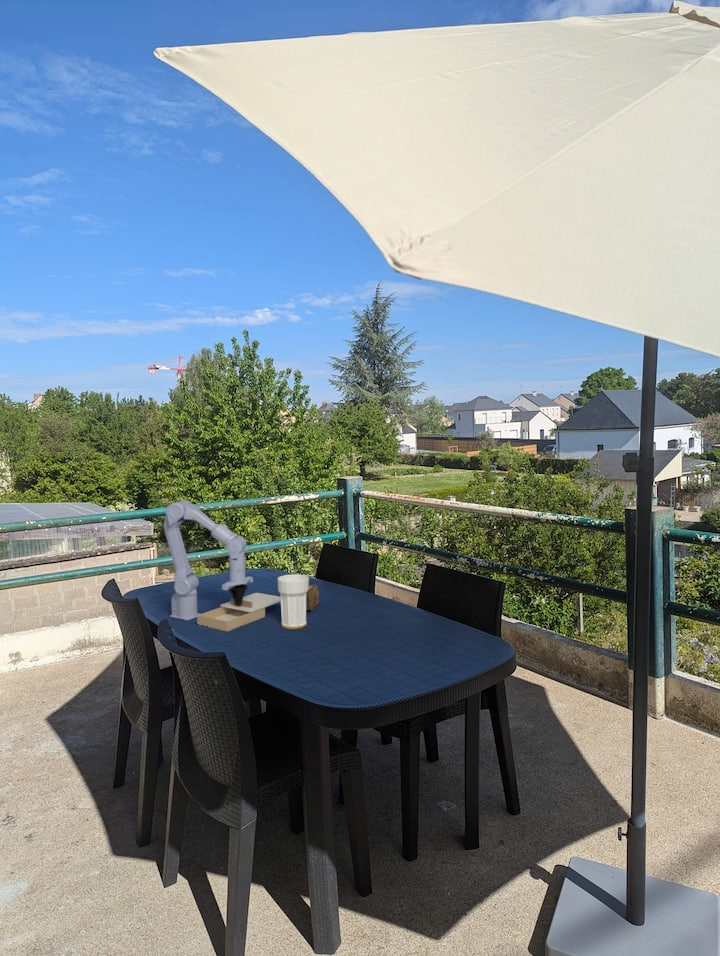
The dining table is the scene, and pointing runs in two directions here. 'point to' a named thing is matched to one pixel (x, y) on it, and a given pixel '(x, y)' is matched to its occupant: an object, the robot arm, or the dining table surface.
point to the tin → (312, 597)
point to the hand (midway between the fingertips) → (238, 604)
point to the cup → (293, 600)
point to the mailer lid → (253, 602)
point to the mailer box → (228, 618)
